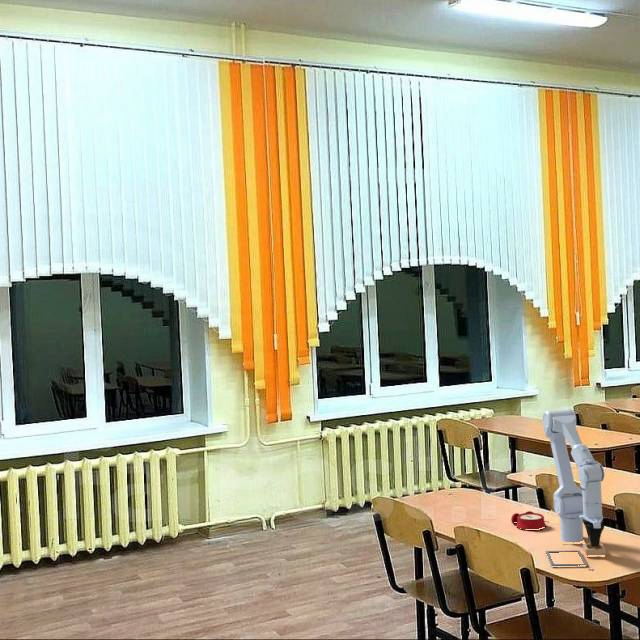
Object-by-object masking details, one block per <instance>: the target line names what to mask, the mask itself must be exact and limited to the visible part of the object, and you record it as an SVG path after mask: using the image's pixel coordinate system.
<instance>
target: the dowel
mask: <svg viewBox="0 0 640 640" xmlns="http://www.w3.org/2000/svg"><path fill="white" fill-rule="evenodd" d="M588 541H589V542H588V544H589V547H590V549H599V546H598V547H592V546H591V542H590V537H589V539H588Z"/></svg>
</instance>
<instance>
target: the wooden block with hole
mask: <svg viewBox="0 0 640 640" xmlns="http://www.w3.org/2000/svg"><path fill="white" fill-rule="evenodd" d="M583 551H584V552H585V554H586V555H587V556H588V555H606V556H607V549H606V547H605V546H604V544H603V543H601V542H599V549H590V547H589V543H587V544H583V545H582V552H583ZM585 554H584V555H585Z"/></svg>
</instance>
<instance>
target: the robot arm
mask: <svg viewBox="0 0 640 640" xmlns="http://www.w3.org/2000/svg"><path fill="white" fill-rule="evenodd" d="M541 421H542V426H543V432H544V434H545V437H546V438H549V442H550V447H551V452H552V457H553V460H554V466H555V470H556V475H557V480H558V485H559V487H558V488H557V489H556V490H555V491H554V493H553V497H552V498H553V509H554V511H555V513H556V514H557V515H558V516H559V525H560V526H559V527H560V536H561V540H562V541H565V542H573V543H574V542H580V541H583V538H584V527H585V531H586V533H587V538H588V539H587V540H589V537H590V542H591V546H592V547H598V546H599V543H601V542H600V541H601V535H602V533H603V531H604V528H605V525H604V524H602V520H603V519H604V515H603V504H602V503H603V501H602V498H603V497H602V482H603V481H604V478H605V471H604V467H603V465H602V464H601V463H600V462H599V461H597V460H595V458H594V457H593V454H592V453H591V451H590V449H589V447H588V446H587V445H585V444H583V443H582V442H583V441H582V440H581V437H580V435H579V433H578V430H577V415H576V412H575V411H574V410H573V409H572V408H568V409H559V410H545V411H544V413H543V415H542V419H541ZM567 443H568V445H569V446H570V448H571V451H570V455H571V457H572V459H573V461H574V462H575V465H576V467H577V469H578V471H577V476H578V479H579V485H580V487H579V486H577V485H576V484H575V478H574V475H573V469H572V466H571V461H570V460H571V459H570V456H569V452H568V445H567Z"/></svg>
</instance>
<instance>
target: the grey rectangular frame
mask: <svg viewBox="0 0 640 640" xmlns="http://www.w3.org/2000/svg"><path fill="white" fill-rule="evenodd" d="M559 552H578V554H579V556H580V557H581V559H582V561H583V563H584V564H554V563H553V561H552V559H551V556H550V554H549V553H559ZM546 554H547V555H546ZM545 555H546V557H547V556H548V558H547V560H548V559H549V560H548V562H549V561H550V563H549V564H551V565H550V567H551V566H578V565H579V566H580V565H588V562H587V561H586V559H585V557H584V556H583V554H582V552H581V551H580V550H545Z"/></svg>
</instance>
